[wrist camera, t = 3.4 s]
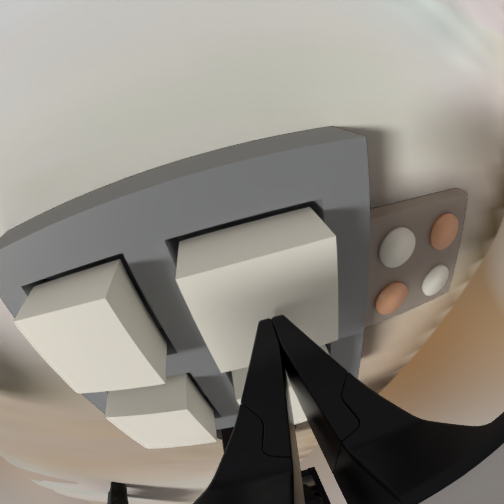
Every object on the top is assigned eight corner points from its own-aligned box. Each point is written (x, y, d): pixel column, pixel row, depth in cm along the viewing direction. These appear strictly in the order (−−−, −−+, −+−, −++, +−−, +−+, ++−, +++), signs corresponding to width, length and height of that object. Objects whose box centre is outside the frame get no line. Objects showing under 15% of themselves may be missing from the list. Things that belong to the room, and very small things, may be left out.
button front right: (319, 303, 13) (338, 339, 11) (216, 332, 13) (221, 372, 11) (309, 206, 11) (335, 236, 9) (179, 241, 10) (175, 279, 8)
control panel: (341, 361, 21) (355, 391, 18) (137, 408, 20) (135, 438, 18) (331, 126, 12) (366, 136, 9) (6, 231, 11) (-22, 261, 8)
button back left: (213, 410, 17) (217, 441, 15) (147, 419, 17) (146, 448, 15) (185, 371, 14) (187, 409, 12) (109, 383, 14) (104, 417, 12)
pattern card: (440, 284, 19) (450, 294, 17) (354, 319, 18) (362, 333, 17) (457, 187, 14) (470, 195, 13) (355, 213, 14) (367, 223, 13)
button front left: (167, 343, 13) (165, 383, 11) (86, 357, 13) (77, 393, 11) (120, 258, 10) (105, 298, 8) (33, 286, 10) (13, 321, 8)
